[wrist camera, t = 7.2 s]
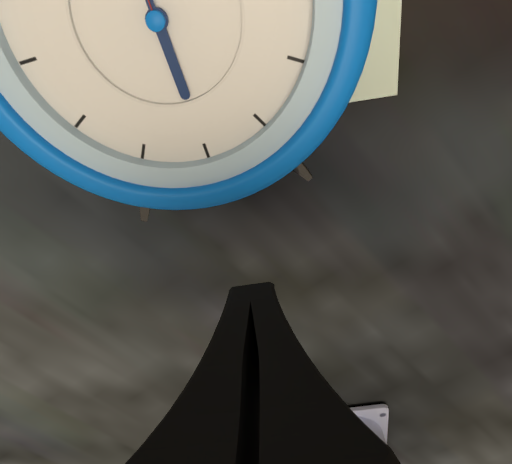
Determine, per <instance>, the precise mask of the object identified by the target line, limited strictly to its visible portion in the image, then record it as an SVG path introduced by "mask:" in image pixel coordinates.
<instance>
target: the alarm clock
mask: <svg viewBox="0 0 512 464" xmlns="http://www.w3.org/2000/svg"><path fill="white" fill-rule="evenodd" d="M376 9H377V0H0V131H1V132H2V133H3V134H4V135H5V136H6V137H7V138H8V139H9V140H10V141H12V142H13V143H14V144H15V145H16V146H17V147H18V148H19V149H21V150H22V151H23V152H24V153H26V154H27V155H28V156H29V157H31V158H32V159H33V160H35V161H36V162H37V163H39V164H40V165H42V166H43V167H45V168H46V169H48V170H49V171H51V172H52V173H54V174H55V175H57V176H59V177H61V178H62V179H64V180H66V181H68V182H70V183H71V184H73V185H76V186H78V187H80V188H82V189H84V190H86V191H88V192H91V193H93V194H96V195H99V196H101V197H104V198H107V199H110V200H114V201H117V202H120V203H124V204H129V205H133V206H138V207H139V208H140V216H141V221H146V222H147V220H148V216H149V212H150V208H152V209H163V210H191V209H200V208H208V207H213V206H218V205H222V204H226V203H229V202H233V201H236V200H239V199H242V198H244V197H247V196H249V195H252V194H254V193H256V192H258V191H260V190H262V189H264V188H266V187H268V186H270V185H272V184H273V183H275V182H277V181H278V180H280V179H281V178H283V177H284V176H286V175H287V174H288V173H290V172H291V171H292V170H293V171H295V172H296V173H297V174H299V175H300V176H301V177H303V178H304V179H305V180H307V181H309V180H310V179H312V178H313V177H312V175H311V173H310V172H309V170H308V169H307V167H306V166H305V164H304V163H303V161H304V160H305V159H306V158H308V157H309V156H310V155H311V154H312V153H313V152H314V151H315V149H316V148H317V147H318V146H319V145H320V144H321V143H322V142H323V141H324V139H325V138H326V137H327V135H328V134H329V133H330V131H331V130H332V129H333V128H334V126H335V125H336V123H337V121H338V120H339V118H340V117H341V115H342V114H343V112H344V110H345V109H346V107H347V105H348V103H349V101H350V99H351V97H352V95H353V93H354V91H355V89H356V86H357V84H358V81H359V79H360V76H361V74H362V71H363V68H364V65H365V62H366V59H367V55H368V52H369V48H370V44H371V39H372V35H373V30H374V24H375V16H376Z"/></svg>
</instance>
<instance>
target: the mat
mask: <svg viewBox="0 0 512 464" xmlns="http://www.w3.org/2000/svg"><path fill="white" fill-rule="evenodd" d="M401 5H402V0H377V9H376V16H375V24H374V30H373V35H372V39H371V44H370V48H369V52H368V55H367V59H366V62H365V65H364V68H363V71H362V74H361V76H360V79H359V81H358V84H357V86H356V89H355V91H354V93H353V95H352V97H351V99H350V101H349V102H355V101H361V100H368V99H374V98H381V97H387V96H393V95H397V88H398V67H399V46H400V25H401Z"/></svg>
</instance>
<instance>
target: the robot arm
mask: <svg viewBox="0 0 512 464" xmlns="http://www.w3.org/2000/svg"><path fill="white" fill-rule="evenodd" d="M388 417H389V409H388V406H387V405H386V404H376V405H368V406H359V407H351V408H349V407H348V406H347V404H346V403H345V402H344V401H343V400H342V399H341V398H340V397H339V395H338V394H337V393H336V392H335V391H334V390H333V389H332V387H331V386H330V385H329V384H328V382H327V381H326V380H325V379H324V377H323V376H322V375H321V374H320V372H319V371H318V369H317V368H316V367H315V365H314V364H313V363H312V361H311V360H310V358H309V357H308V355H307V354H306V352H305V351H304V349H303V348H302V346H301V344H300V343H299V341H298V340H297V338H296V336H295V334H294V333H293V331H292V329H291V327H290V325H289V323H288V321H287V320H286V318H285V316H284V313H283V311H282V309H281V307H280V304H279V302H278V299H277V296H276V293H275V289H274V284H272V283H271V282H266V283H258V284H251V285H244V286H236V287H232V288H231V289H230V290H229V294H228V298H227V301H226V304H225V307H224V310H223V313H222V315H221V318H220V320H219V323H218V325H217V327H216V330H215V332H214V334H213V337H212V339H211V341H210V343H209V345H208V347H207V349H206V351H205V353H204V355H203V357H202V359H201V361H200V363H199V365H198V366H197V368H196V370H195V372H194V373H193V375H192V377H191V379H190V380H189V382H188V383H187V385H186V387H185V388H184V390H183V391H182V393H181V394H180V396H179V397H178V399H177V400H176V402H175V403H174V404H173V406H172V407H171V409H170V410H169V412H168V413H167V414H166V416H165V417H164V418H163V420H162V421H161V422H160V423H159V425H158V426H157V427H156V428H155V430H154V431H153V432H152V433H151V434H150V436H149V437H148V438H147V439H146V441H145V442H144V443H143V444H142V446H141V447H140V448H139V449H138V450H137V451H136V452H135V453H134V455H133V456H132V457H131V458H130V459H129V460H128V461H127V462H126V463H125V464H400V462H399V460H398V459H397V457H396V456H395V454H394V452H393V451H392V449H391V448H390V447H389V446H388V445H387V433H388Z"/></svg>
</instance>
